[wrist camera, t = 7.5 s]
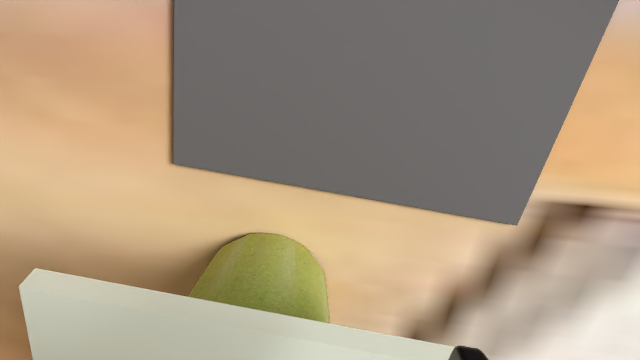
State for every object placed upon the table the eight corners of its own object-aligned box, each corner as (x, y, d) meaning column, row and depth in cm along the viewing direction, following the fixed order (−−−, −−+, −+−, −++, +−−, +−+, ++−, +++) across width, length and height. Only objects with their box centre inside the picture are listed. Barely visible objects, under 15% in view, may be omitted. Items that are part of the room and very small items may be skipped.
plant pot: (187, 182, 23) (100, 318, 15) (380, 225, 23) (387, 380, 16) (175, 319, 27) (104, 475, 20) (335, 353, 28) (325, 520, 20)
